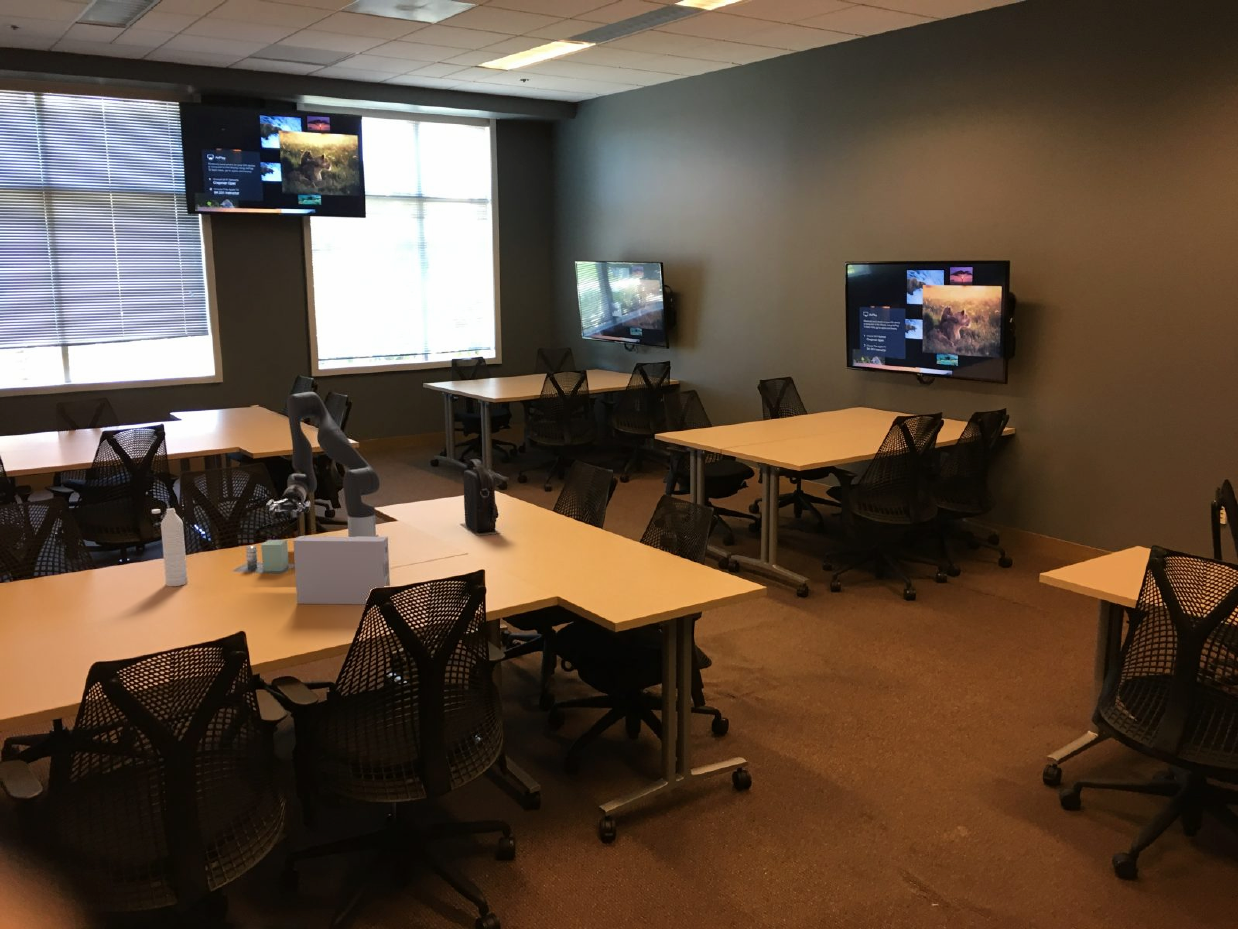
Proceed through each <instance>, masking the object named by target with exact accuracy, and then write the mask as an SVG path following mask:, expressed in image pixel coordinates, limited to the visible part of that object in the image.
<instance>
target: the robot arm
mask: <svg viewBox="0 0 1238 929" xmlns="http://www.w3.org/2000/svg"><path fill="white" fill-rule="evenodd" d="M286 406H287V407H286V408H287V415H288V416H287V417H288V423H289V430H290V436H291V437H290V438H291V442H292V444H291V445H292V468H293V469H294V470H295V471H297V472H301V473H292V474H290V475H289V476H288V478H287V488H286V489H285V490H284V492H283V494H282V496H281V497H280V500H277V501H275V500H274V499H270V500H268V501H267V503H266V505H265V508H266V513H267V512H268V513H269V514H268V515H270V516H274V515H275V513H276V512H277V513H281V512H284V511H285V512H286V511H287V512H292V513H293V512H295V513H296V514H295V515H296V517H297V518H299V517H300V516H302V515H303V514H304V513H305V514H309V513H310V509H311V501H310V500H307V501H306V497H307V496H308V494H312V493H315V491H316V490H317V487H318V484H317V483H318V481H317V478H316V475H315V471H314V468H313V466H314V465H313V446H312V444H311V442H310V440H309V439H308V437H307V435H306V434H305V432H304V431H303V430H302V429H303V428H302V426H301V424H302V422H301V421H302V420H304V419H310V418H314V419H315V420H316V421H317V423H318V429H317V435H316V440H317V443H318V445H319V446H320V449H321V450H322V451H323V453H324V454H325V455H326V456H327V457H328V458H329V459H331V460H332V461H334V462H336V463H338V464H340V465H342V466H344V467H346V468H347V469H349V470H347V471H345V473H344V475H343V481H342V483H343V484H342V485H343V486H342V487H343V493H344V494H343V496H344V505H345V508H346V514H347V532H348V536H347V537H356V536H366V537H379V535H378V534H377V531H376V530H377V529H376V527H377V526H376V525H377V524H376V508H375V506H374V505H373V504H369V503H364V502H363V500H362V496H366V495H367V496H368V495H372V494H374V493H377V492H378V491H379V489H380V482H381V481H380V478H379V475H378V474H377V472H376V471H375V469H374V468H373V467H372V466H371V465H370V464H369V462H367V460H366V459H364V457H363V456H362V455H361V454H360V453H359V452H358V451H357V449H356V448H355V446H353V444H352V443H351V442H350V440H349V439H348V436H346V435H345V433H344V432H343V430H342V429H341V428H340V427H339V425H338V424H337V423H336V421H335V420H334V418H333V417H332V416H331V414H330V412H329V411H328V409H327V408H326V405H325V404H324V402H323V400H322V399H321V397H320V396H319V395H318V394H317V393H316V392H314V391H307V392H306V391H305V392H301V393H299V392H297V393H294V394H291V395H289V396H288V398H287V405H286ZM305 501H306V502H305Z"/></svg>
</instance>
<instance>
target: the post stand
mask: <svg viewBox="0 0 1238 929" xmlns="http://www.w3.org/2000/svg"><path fill="white" fill-rule="evenodd" d="M245 549H246V550H245V552H246V553H245V554H246V555H245V557H246V563H244V564H242V565H240V566H238V567H237V568H235V569H232V570H231V572H239V573H240V572H241V573H243V572H244V573H258V574H276V575H282V574H283V573H285V572H288V571H289V570H291V569H292V568H295V563H294V564H293V563H288V564H289V566H288V567H286V568H285V569H284V570H283V571H263V564H262V562H261V561H260V562H258V560H259V559H258V550H257V545H247V546H246V547H245Z"/></svg>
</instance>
